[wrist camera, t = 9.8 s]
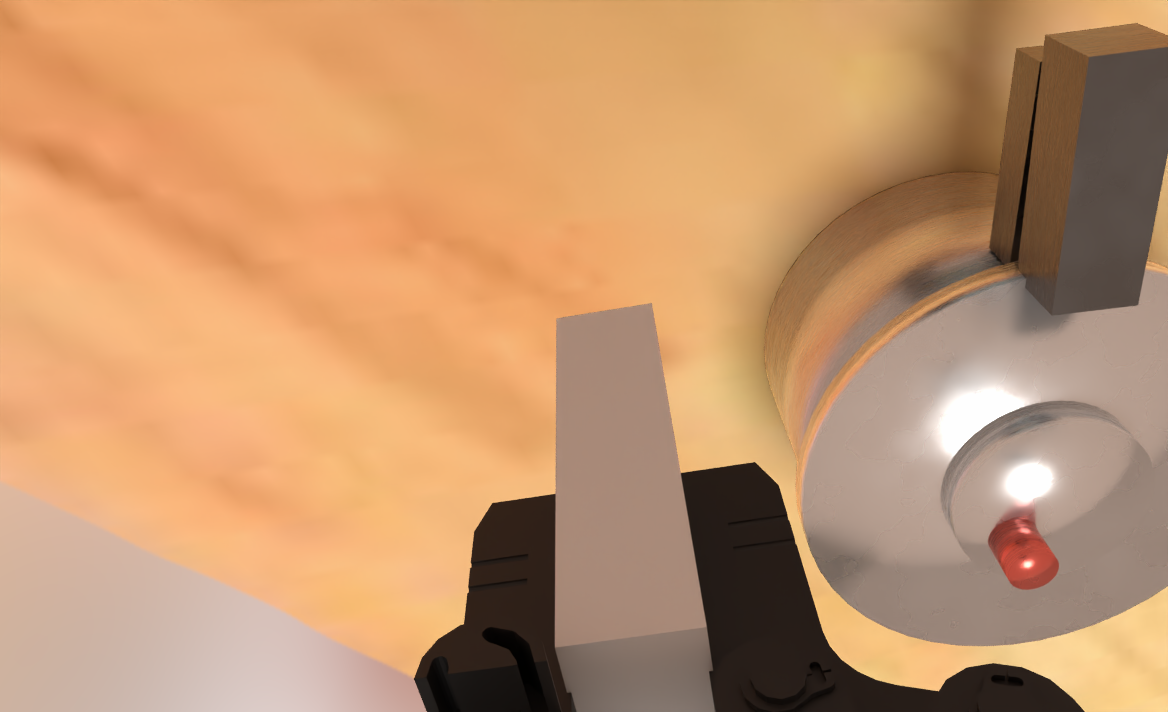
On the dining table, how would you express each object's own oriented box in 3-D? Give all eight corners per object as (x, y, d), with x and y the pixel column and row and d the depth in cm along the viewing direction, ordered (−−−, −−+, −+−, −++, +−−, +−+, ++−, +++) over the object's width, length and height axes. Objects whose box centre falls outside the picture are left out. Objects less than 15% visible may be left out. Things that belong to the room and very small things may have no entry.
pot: (1068, 482, 57) (1172, 621, 47) (762, 509, 57) (805, 653, 48) (1174, -20, 43) (1354, 35, 33) (766, 20, 43) (828, 86, 33)
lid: (1205, 599, 46) (1272, 683, 42) (797, 644, 47) (822, 731, 43) (1380, -14, 32) (1509, 17, 28) (790, 63, 33) (827, 105, 28)
